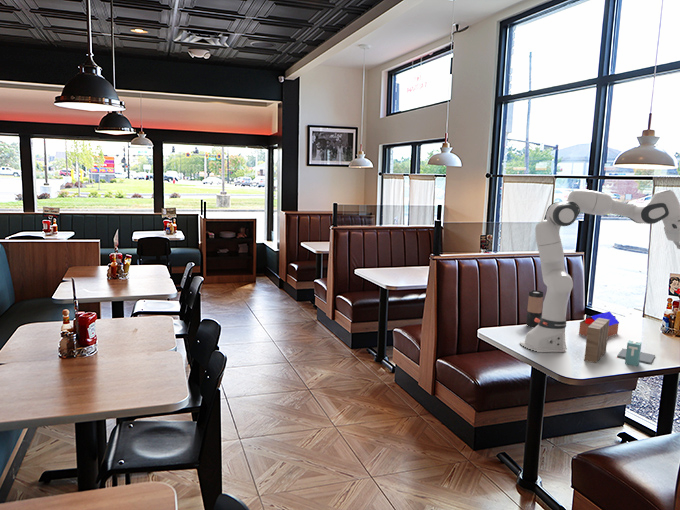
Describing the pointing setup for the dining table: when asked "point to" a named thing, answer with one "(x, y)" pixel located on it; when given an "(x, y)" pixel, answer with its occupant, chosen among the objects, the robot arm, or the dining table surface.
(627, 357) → the lettered block
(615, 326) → the house
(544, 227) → the robot arm
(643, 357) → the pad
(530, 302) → the travel mug
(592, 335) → the walnut screen
